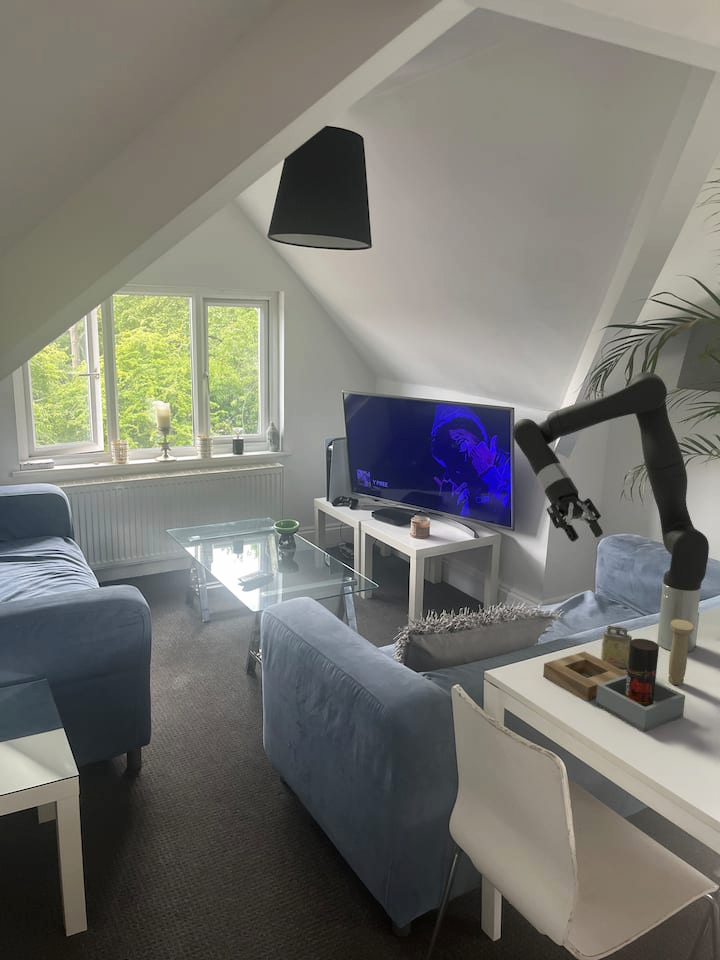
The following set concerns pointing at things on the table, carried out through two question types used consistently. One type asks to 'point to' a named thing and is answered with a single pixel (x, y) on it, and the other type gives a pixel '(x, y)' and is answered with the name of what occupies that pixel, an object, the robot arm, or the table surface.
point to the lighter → (616, 646)
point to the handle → (679, 650)
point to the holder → (572, 666)
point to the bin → (644, 718)
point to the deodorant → (642, 671)
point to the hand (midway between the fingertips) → (587, 537)
